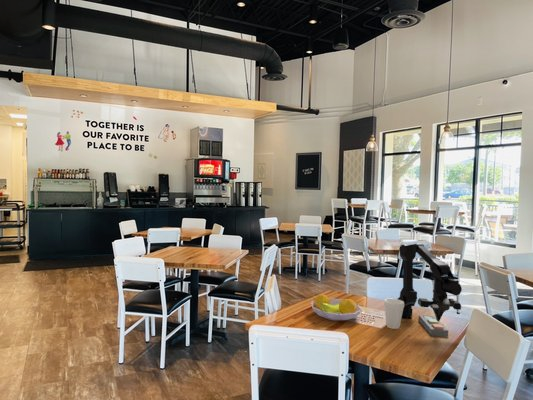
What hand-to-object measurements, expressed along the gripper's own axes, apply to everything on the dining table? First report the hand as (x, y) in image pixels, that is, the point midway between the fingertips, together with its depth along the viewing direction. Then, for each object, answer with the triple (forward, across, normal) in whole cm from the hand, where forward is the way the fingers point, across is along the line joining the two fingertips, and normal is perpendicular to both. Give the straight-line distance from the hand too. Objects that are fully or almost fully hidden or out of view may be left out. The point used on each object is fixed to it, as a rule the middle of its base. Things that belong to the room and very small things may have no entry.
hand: (438, 321), depth 186 cm
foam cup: (+6, -20, +5) cm, 22 cm away
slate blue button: (+5, 0, +14) cm, 15 cm away
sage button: (+4, 0, +7) cm, 8 cm away
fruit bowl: (+6, -49, +13) cm, 51 cm away
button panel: (+6, 0, +7) cm, 9 cm away
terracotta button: (+4, 0, 0) cm, 4 cm away
